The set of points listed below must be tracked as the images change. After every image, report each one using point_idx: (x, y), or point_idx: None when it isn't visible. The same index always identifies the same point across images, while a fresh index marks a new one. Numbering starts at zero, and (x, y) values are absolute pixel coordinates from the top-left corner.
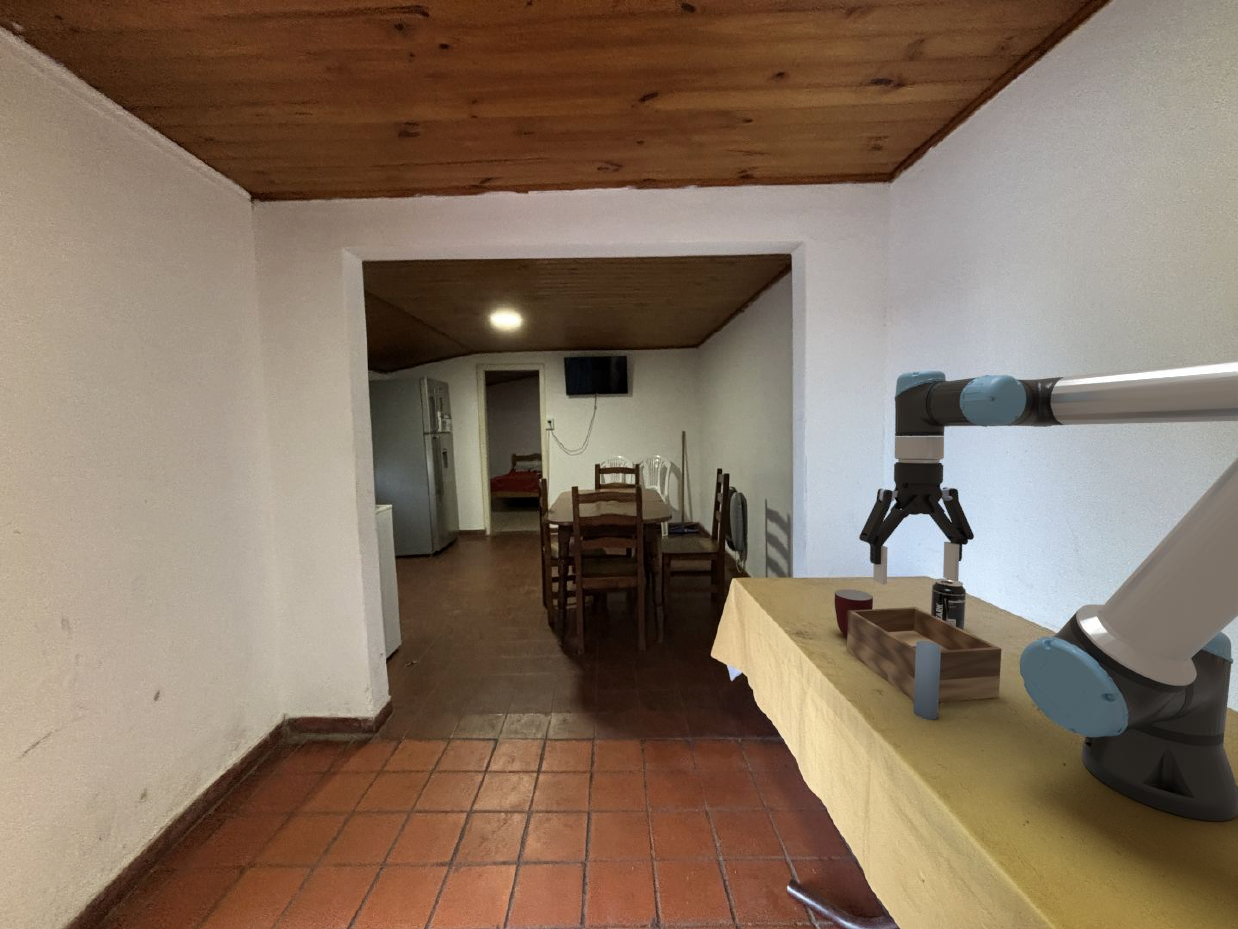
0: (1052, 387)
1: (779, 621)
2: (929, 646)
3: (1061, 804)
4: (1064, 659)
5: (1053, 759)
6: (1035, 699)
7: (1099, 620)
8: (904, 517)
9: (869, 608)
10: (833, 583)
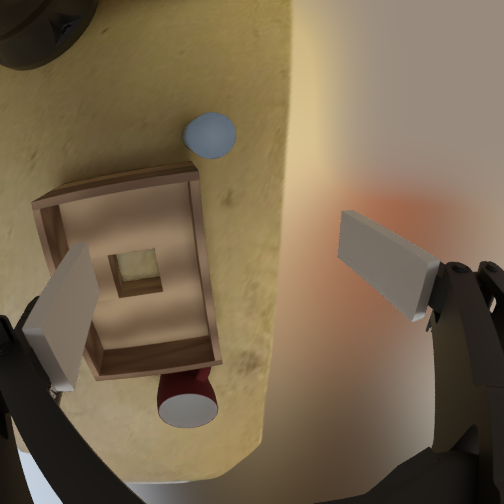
0: None
1: (260, 392)
2: (214, 128)
3: None
4: None
5: (108, 38)
6: None
7: None
8: (480, 386)
9: (168, 385)
10: (145, 474)
